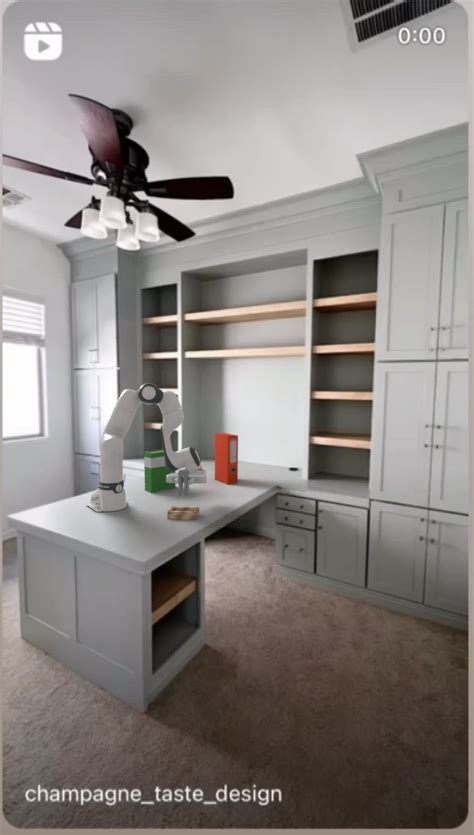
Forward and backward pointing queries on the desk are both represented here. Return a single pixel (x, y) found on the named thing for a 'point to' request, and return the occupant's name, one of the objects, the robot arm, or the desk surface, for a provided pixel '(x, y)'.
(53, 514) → the desk surface
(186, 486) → the clip
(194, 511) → the wooden tray
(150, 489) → the green box
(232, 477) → the file binder
